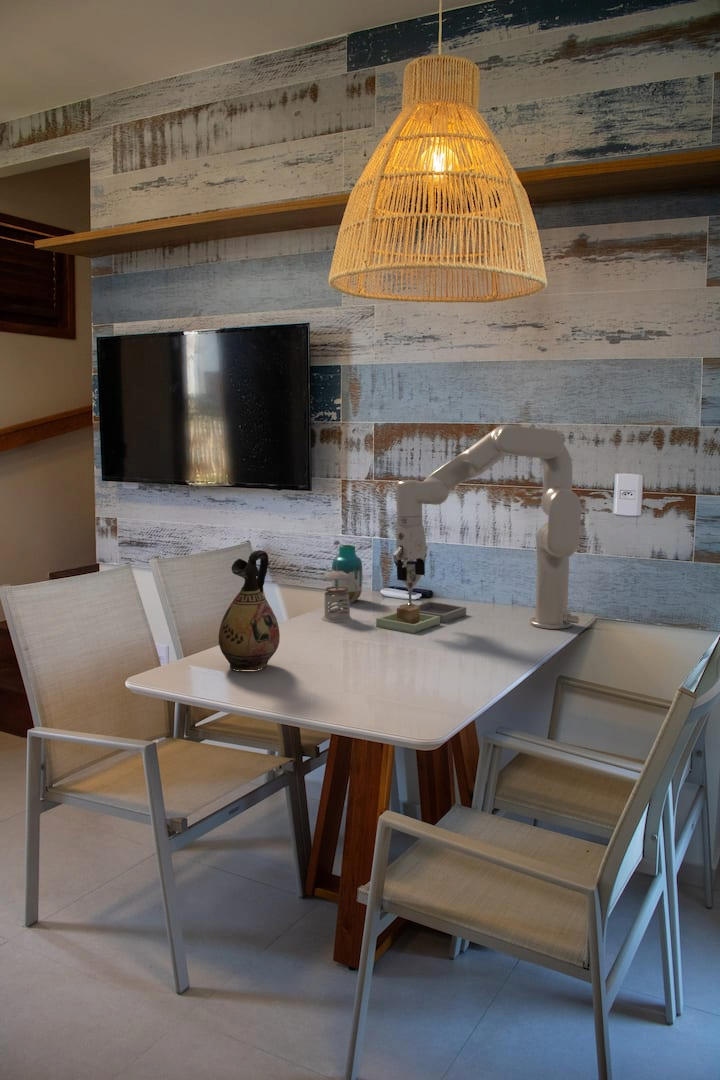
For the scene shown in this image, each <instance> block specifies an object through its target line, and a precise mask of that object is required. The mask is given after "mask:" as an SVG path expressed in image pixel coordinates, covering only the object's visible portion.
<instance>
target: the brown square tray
mask: <svg viewBox="0 0 720 1080" xmlns="http://www.w3.org/2000/svg"><path fill="white" fill-rule="evenodd" d="M416 605H417V606H414V607H419V608H420V613H422V614H428V615H434V616H439V617H440V624H445V623H448V622H451V621H454V620H455V619H460V618H462V617H464V616H466V615H467V607H466V606H459V605H455V604H449V603H442V602H436V601H427V602H424V603H420V604H416Z"/></svg>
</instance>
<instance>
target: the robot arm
mask: <svg viewBox="0 0 720 1080" xmlns="http://www.w3.org/2000/svg"><path fill="white" fill-rule="evenodd" d="M508 455H512V456H518V457H526V458H537V459H539V460H540V462H541V464H542V470H543V475H542V476H543V480H542V481H543V482H542V496H541V509H542V511H543V513H544V514H546V515H547V517H548V521H547V522H546V523H544V524H543V525H541V526H540V528H539V529H538V530H537V534H536V538H535V539H536V541H535V543H536V562H537V563H536V587H535V588H536V589H535V613H534V614H535V616H533V617H531V618H530V619H529V623H530V625H532V626H533V627H537V628H542V629H547V630H548V629H549V630H562V629H568V628H571V627H572V625H573V624H576V625H577V624H579V623H580V617H579V616H578V615H572V614H571V610H569V609H568V602H569V601H568V599H569V581H570V580H569V578H570V577H569V576H570V557H571V556H573V554H575V552H576V551H577V549H578V547H579V543H580V536H581V535H580V533H581V520H582V503H581V500H580V498H579V496H578V495H577V494H576V492H574V491H573V462H572V458H571V454H570V452H569V450H568V449H567V447H566V445H565V441H564V437H563V436H562V434H560V433H559V432H558V431H556V430H554V429H549V428H538V427H528V426H527V427H526V426H520V425H515V424H514V425H512V424H501V425H499V426H497V427H495V428H494V429H493V430H491V431H490V432H489V433H487V434H485V435H484V436H483V437H481V438H480V439H479V440H478V441H476V442H475V443H474V444H472V445H471V446H470V447H468V448H467V449H466V450H464V451H462V452H461V453H460V454H458V455H456V456H455V457H454V458H453V459H451V460H450V461H448V462H446V463H445V464H443V465H442V466H441V467H439V468H438V469H437V470H435V471H433V472H432V473H431V474H430V475H428V476H427V477H426V478H425V479H424V480H423V481H420V480H417V479H403V480H400V481H398V482H397V483H396V511H397V512H396V515H397V516H396V517H397V519H396V520H397V524H396V525H397V531H396V541H395V542H396V543H395V548H396V550H395V551H394V552H393V554H392V558H393V562H394V565H395V567H396V578H397V581H401V582H402V581H406V580H407V567H405V566H406V564H407V561H408V560H410V561H411V560H413V561H415V574H416V575H421V576H424V575H425V574H426V571H425V570H426V569H425V568H426V567H425V566H426V565H425V563H426V560H427V559H426V557H427V556H428V554H427V552H428V549H429V548H428V545H427V542H426V531H425V527H424V524H423V504H425V505H434V506H436V505H442V504H443V503H445V502H446V500H447V499H448V497H449V494H450V491H452V489H454V488H456V486H459V485H461V483H463V482H465V481H467V480H470V479H474V478H476V477H479V476H481V475H482V474H484V473H485V472H486V471H488V470H489V469H491V468H492V467H493V466H495V465H496V464H497V463H498V462H500V461H501V460H503V459H504V458H505V457H507V456H508ZM402 561H403V563H402ZM425 576H426V575H425Z"/></svg>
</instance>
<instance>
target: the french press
mask: <svg viewBox="0 0 720 1080" xmlns="http://www.w3.org/2000/svg"><path fill="white" fill-rule="evenodd" d="M333 545H336V546H339V545H341V542H340V541H339V540H334V541H333ZM349 577H350V576H349V575H348V574H346V573H344V572H341V571H337V570H336V571H333V572H332V571H329V572H327V573H326V574H324V575H323V578H324V579H326V580H328V581H329V580H331V581H332V580H345V579H348V578H349ZM348 580H349V584H350V581H352V580H350V579H348ZM348 580H347V583H348ZM352 582H353V581H352ZM353 583H354V585H355V588H356V587H357V585H356V583H355V582H353ZM347 590H348V588H346V587H342V586H333V587H332V586H328V587H325V591H326V592H325V593H323V595H324V598H323V599H324V601H323V602H324V606H323V607H324V608H323V609H324V615H323V616H322V617H321V621H322V622H326V623H331V624H333V623H334V624H339V623H349V622H351V621H352V620H353V618H352V617H351V616H350V615H351V613H350V611H351V609H350V606H351V604H352V603H354V602H355V601H356V600H357V599H356V598H357V595H358V587H357V595H356V592H355V595H356V598H355V596H354V598H355V599H356V600H355V599H354V598H353V599H354V600H353V599H352V600H353V601H352V600H350V601H349V594H348V593H347V592H345V591H347ZM335 594H338V595H341V596H334V595H335ZM341 600H343V601H341Z"/></svg>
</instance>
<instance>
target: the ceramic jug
mask: <svg viewBox="0 0 720 1080" xmlns="http://www.w3.org/2000/svg"><path fill="white" fill-rule="evenodd" d="M258 560H260V561H259V562H260V564H259V568H258V567H257V561H258ZM269 563H270V562H269V554H268V552H266V551H264V550H263V549H260V550H254V551H253V552H251V553H250V555H249V556H248V560H247V561H246V560H244V559H242V558H237V559H236V560H235V561H234V562H233V564H232V566H231V571H232V572H231V573H233V574H234V575H235V576H238V577H240V578H242V579H244V583H243V586H242V587H241V589H240V590H239V592H238V593H237V594H236V596H235V597H234V598H233V600H232V602H231V603H230V605H229V607H228V608H227V610H226V611H225V613H224V616H223V617H222V619H221V623H220V627H219V631H218V645H219V649H220V652H221V653H222V654H223V656H224V657H225V659H226V661H227V662H228V663H229V666H230V667H231V668H232V669H235V670H258V669H261V668H264V667H265V666H266V667H267V665H268V663H269V660H270V659H271V658H272V657H273V656H274V654H275V653H276V651H277V650H278V648H279V644H280V641H281V640H280V638H281V636H280V635H281V634H280V627H279V623H278V619H277V617H276V614H275V612H274V610H273V609H272V607H271V605H270V604H269V602H268V600H267V598H266V597H265V596H264V594H263V593H264V585H265V579H266V576H267V572H268V569H269ZM230 667H229V668H230ZM266 667H265V668H266ZM231 668H230V669H231ZM265 668H264V669H265ZM232 669H231V670H232Z"/></svg>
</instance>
